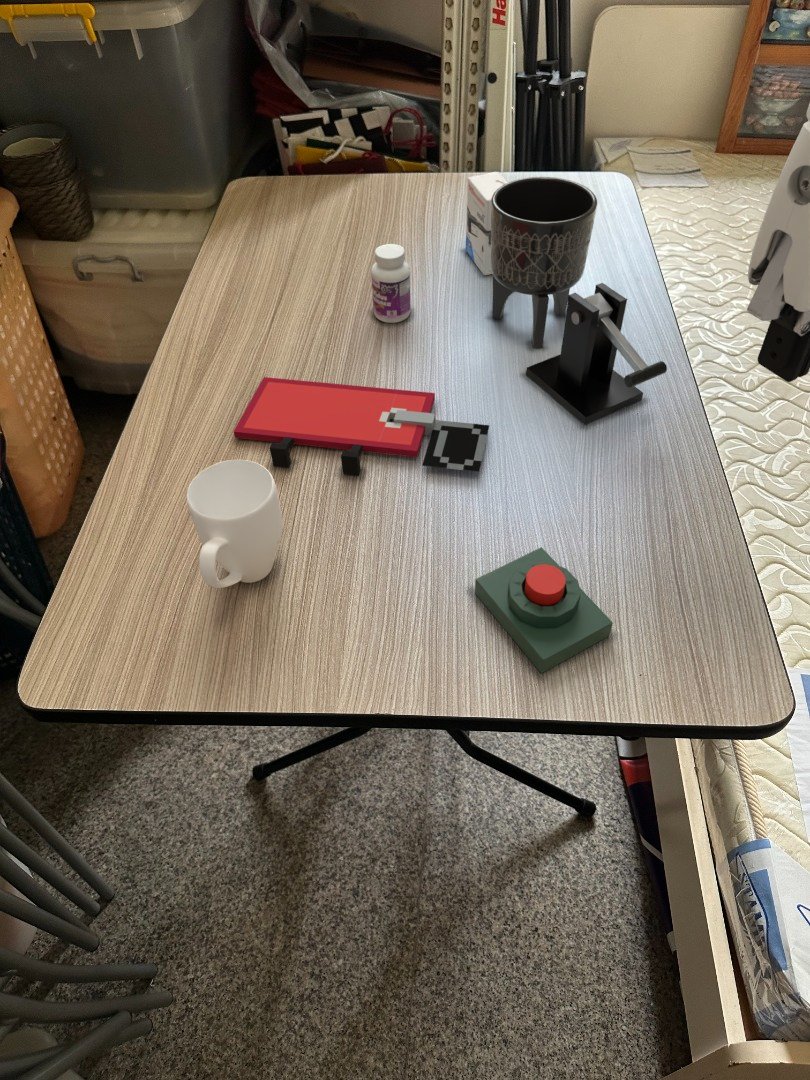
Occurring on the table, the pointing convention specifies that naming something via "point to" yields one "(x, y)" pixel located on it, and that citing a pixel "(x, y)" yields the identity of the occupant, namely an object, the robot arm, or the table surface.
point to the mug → (235, 521)
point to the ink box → (481, 218)
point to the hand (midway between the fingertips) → (781, 368)
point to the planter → (539, 243)
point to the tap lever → (624, 345)
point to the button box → (542, 613)
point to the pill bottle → (390, 284)
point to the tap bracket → (586, 362)
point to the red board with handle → (357, 424)
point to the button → (545, 585)
